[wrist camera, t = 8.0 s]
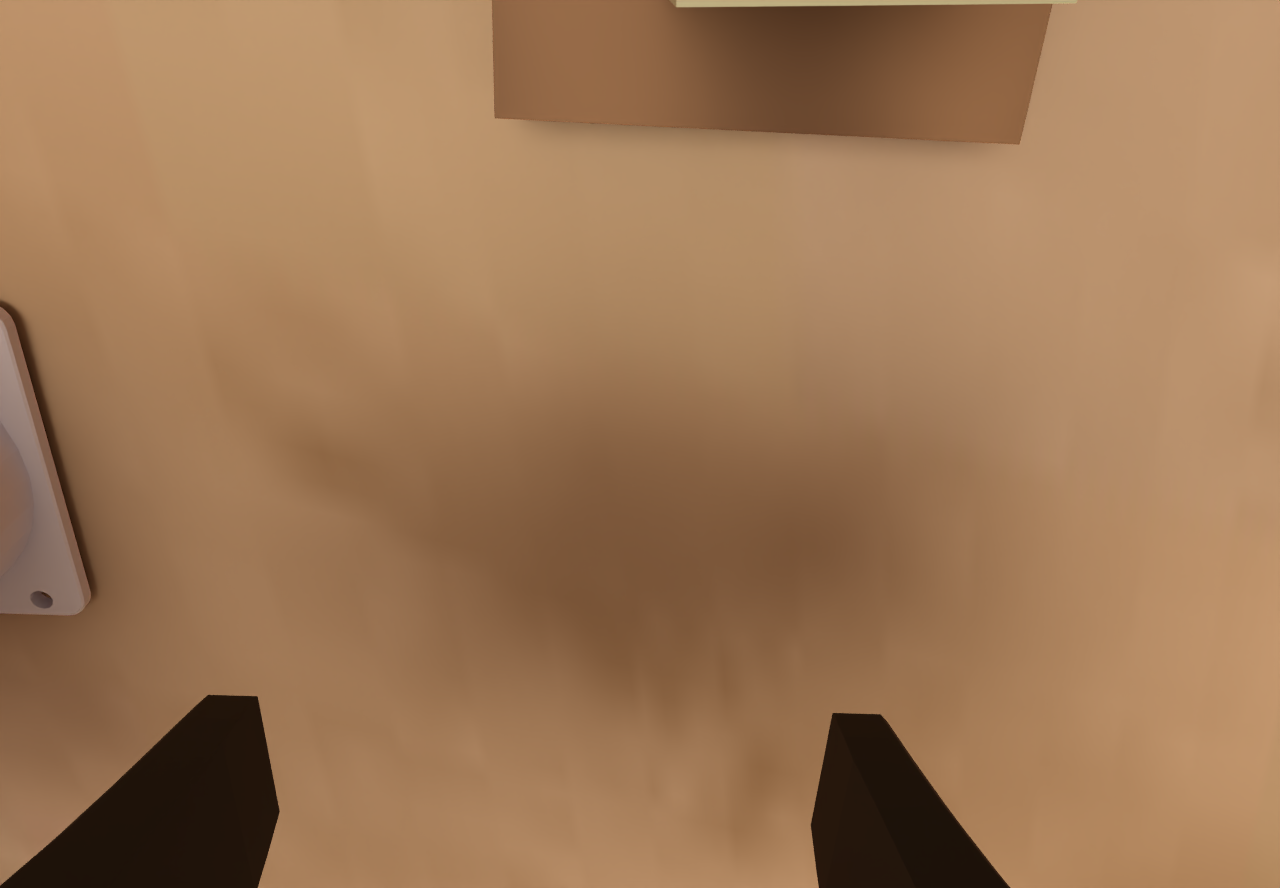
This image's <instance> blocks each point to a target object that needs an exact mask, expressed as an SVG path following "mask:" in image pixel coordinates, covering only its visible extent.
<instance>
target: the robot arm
mask: <svg viewBox="0 0 1280 888" xmlns="http://www.w3.org/2000/svg"><path fill="white" fill-rule="evenodd" d="M41 592H45V593H47V594H48V595H50V597H51V598H48V597H46V596H45V595H43V594H42V593H41ZM90 599H91V592H90V588H89V585H88V581H87V578H86V574H85V571H84V567H83V563H82V560H81V556H80V553H79V549H78V546H77V542H76V539H75V535H74V532H73V528H72V524H71V521H70V517H69V514H68V510H67V507H66V503H65V500H64V496H63V493H62V489H61V486H60V482H59V478H58V475H57V471H56V468H55V464H54V461H53V457H52V454H51V450H50V447H49V443H48V439H47V436H46V432H45V429H44V425H43V422H42V418H41V415H40V411H39V408H38V404H37V400H36V397H35V393H34V390H33V386H32V383H31V379H30V376H29V372H28V369H27V365H26V361H25V358H24V354H23V351H22V347H21V344H20V340H19V337H18V333H17V330H16V326H15V324H14V322H13V320H12V317H11V316H10V315H9V314H8V313H7V312H6V311H5V310H4V309H3V308H1V307H0V613H2V614H34V615H65V616H69V615H76V614H78V613H80V612H81V611H82V610H83V609H84V608H85V607H86V605H87V604H88V603H89V601H90ZM278 815H279V806H278V801H277V796H276V791H275V785H274V780H273V775H272V770H271V764H270V759H269V754H268V749H267V743H266V738H265V733H264V728H263V722H262V717H261V712H260V707H259V701H258V696H226V695H208V696H206V697H205V698H204V699H203V700H202V701H201V702H200V703H199V704H197V705H196V706H195V707H194V708H193V709H192V710H191V711H190V712H189V713H188V714H187V715H186V716H185V717H184V718H183V719H182V720H180V721H179V722H178V723H177V724H176V725H175V726H174V727H173V728H172V729H171V730H170V731H169V732H168V733H167V734H166V735H165V736H164V737H163V738H162V739H161V740H160V741H159V742H158V743H157V744H156V745H155V746H154V747H153V748H151V749H150V750H149V751H148V752H147V753H146V754H145V755H144V756H143V757H142V758H141V759H140V760H139V761H138V762H137V763H136V764H135V765H134V766H133V767H132V768H131V769H130V770H129V771H127V772H126V773H125V774H124V775H123V776H122V777H121V778H120V779H119V780H118V781H117V782H116V783H115V784H114V785H113V786H112V787H111V788H110V789H108V790H107V791H106V792H105V793H104V794H103V795H102V796H101V797H100V798H99V799H98V800H97V801H95V802H94V803H93V804H92V805H91V806H90V807H89V808H88V809H87V810H86V811H85V812H83V813H82V814H81V815H80V816H79V817H78V818H77V819H76V820H75V821H74V822H73V823H72V824H70V825H69V826H68V827H67V828H66V829H65V830H64V831H63V832H62V833H61V834H60V835H58V836H57V837H56V838H55V839H54V840H53V841H52V842H51V843H49V844H48V845H47V846H46V847H45V848H44V849H43V850H41V851H40V852H39V853H38V854H37V855H36V856H34V857H33V858H32V859H31V860H30V861H29V862H27V863H26V864H25V865H24V866H23V867H22V868H20V869H19V870H18V871H17V872H16V873H14V874H13V875H12V876H11V877H10V878H9V879H7V880H6V881H5V882H4V883H3V884H2V885H0V888H258V884H259V881H260V878H261V875H262V871H263V868H264V865H265V861H266V858H267V855H268V851H269V848H270V844H271V840H272V837H273V833H274V830H275V826H276V823H277V819H278ZM811 830H812V838H813V846H814V854H815V862H816V870H817V877H818V884H819V888H1010V887H1009V886H1008V885H1007V883H1006V882H1005V881H1004V880H1003V878H1002V877H1001V876H1000V875H999V874H998V872H997V871H996V870H995V869H994V867H993V866H992V865H991V863H990V862H989V861H988V860H987V858H986V857H985V856H984V854H983V853H982V852H981V851H980V849H979V848H978V847H977V846H976V844H975V843H974V842H973V840H972V839H971V838H970V837H969V835H968V834H967V833H966V831H965V830H964V829H963V828H962V826H961V825H960V824H959V822H958V821H957V820H956V818H955V817H954V816H953V814H952V813H951V812H950V810H949V809H948V808H947V806H946V805H945V803H944V802H943V801H942V799H941V798H940V797H939V795H938V794H937V792H936V791H935V790H934V788H933V787H932V786H931V784H930V783H929V781H928V780H927V779H926V777H925V776H924V774H923V773H922V771H921V770H920V769H919V767H918V766H917V764H916V763H915V762H914V760H913V759H912V757H911V756H910V754H909V753H908V751H907V750H906V749H905V747H904V746H903V744H902V743H901V741H900V740H899V738H898V737H897V735H896V734H895V732H894V731H893V730H892V728H891V727H890V725H889V724H888V722H887V721H886V720H885V719H884V718H883V717H882V716H881V715H880V714H846V713H833V714H832V719H831V724H830V729H829V735H828V740H827V745H826V750H825V755H824V760H823V765H822V771H821V776H820V781H819V786H818V791H817V796H816V801H815V807H814V812H813V817H812V822H811Z"/></svg>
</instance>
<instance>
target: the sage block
mask: <svg viewBox="0 0 1280 888" xmlns="http://www.w3.org/2000/svg"><path fill="white" fill-rule="evenodd" d="M670 1H671V2H672V3H673V4H674V5H675V6H676V7H760V6H863V5H965V4H1068V3H1077V0H670Z"/></svg>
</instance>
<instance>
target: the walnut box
mask: <svg viewBox="0 0 1280 888" xmlns="http://www.w3.org/2000/svg"><path fill="white" fill-rule="evenodd" d="M1051 8H1052V4H965V5H863V6H760V7H676V6H675V5H674V4H673V3H672V2H671V1H670V0H492V20H493V66H494V111H495V118H501V119H521V120H541V121H561V122H581V123H601V124H621V125H641V126H661V127H681V128H701V129H721V130H741V131H761V132H781V133H801V134H821V135H841V136H861V137H881V138H901V139H921V140H941V141H961V142H981V143H1001V144H1020V140H1021V136H1022V132H1023V127H1024V123H1025V119H1026V115H1027V110H1028V106H1029V102H1030V97H1031V93H1032V89H1033V85H1034V80H1035V76H1036V72H1037V68H1038V63H1039V59H1040V55H1041V50H1042V46H1043V42H1044V38H1045V33H1046V29H1047V25H1048V21H1049V16H1050V12H1051Z"/></svg>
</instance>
